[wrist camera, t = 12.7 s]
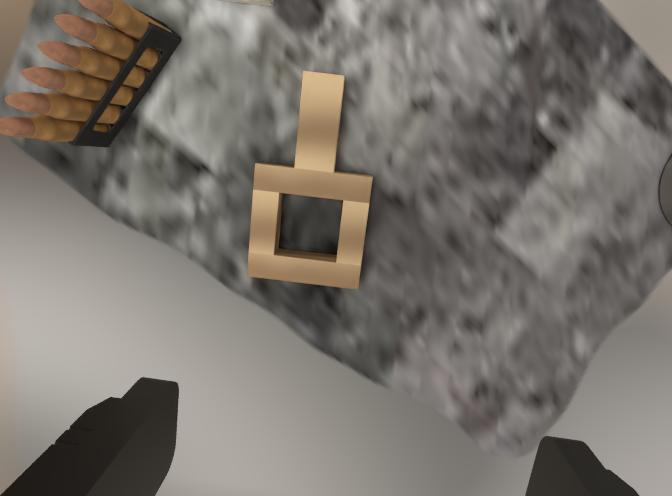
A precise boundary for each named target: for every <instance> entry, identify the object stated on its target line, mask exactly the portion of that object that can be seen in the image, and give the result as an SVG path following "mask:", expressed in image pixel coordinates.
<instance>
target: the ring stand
mask: <svg viewBox="0 0 672 496" xmlns="http://www.w3.org/2000/svg"><path fill="white" fill-rule="evenodd" d="M222 1H230V2H239V3H247V4H255V5H264V6H272V7H273V5H274V0H222Z"/></svg>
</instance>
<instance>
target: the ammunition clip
mask: <svg viewBox="0 0 672 496" xmlns="http://www.w3.org/2000/svg"><path fill="white" fill-rule="evenodd" d="M78 1H79V2H80V3H81V4H82V5H83V6H84V7H86V8H87V9H88V10H90V11H91V12H93V13H95V14H97V15H98V16H99V17H101V18H103V19H104V20H105V21H106V22H107V23H108V24H109V25H111V26H113V27H114V28H115V29H114V28H112V27H110V26H108V25H105V24H101V23H95V22H92V21H90V20H86V19H84V18H81V17H78V16H74V15H68V14H60V15H57V16H55V21H56V23H57V24H58V25H59V26H60V27H61V28H62V29H63V30H64V31H66V32H67V33H69V34H70V35H72V36H74V37H75V38H77V39H80V40H82V41H84V42H85V43H87V44H90V45H91V46H92V47H93V48H95V49H97V50H95V49H92V48H89V47H78V46H75V45H70V44H67V43H62V42H56V41H45V42H41V43H39V44H38V48H39V49H40V51H41V52H42V53H43V54H45V55H46V56H48V57H49V58H51V59H53V60H54V61H57V62H59V63H61V64H64V65H67V66H69V67H72V68H75V69H77V70H78V71H74V70H58V69H52V68H46V67H31V68H26V69H24V70H22V71H21V74H22V75H23V76H24V77H25V78H26V79H27V80H29V81H31V82H32V83H34V84H36V85H38V86H41V87H44V88H48V89H53V90H55V91H59V92H62V93H64V94H60V93H50V94H44V93H31V92H22V93H16V94H11V95H9V96H7V97H6V98H5V101H6V102H7V103H8V104H9V105H11V106H13V107H15V108H17V109H20V110H22V111H26V112H30V113H37V114H41V115H39V116H34V117H6V118H1V119H0V133H2V134H5V135H10V136H16V137H26V138H35V139H38V140H42V141H73V142H69V143H70V144H71V145H75V146H96V147H109V145H110V144H111V142H112V141H113V140H114V138H115V137H116V135H117V134H118V132H119V131H120V129H121V128H122V126H123V125H124V124H125V122H126V121H127V119H128V118H129V116H130V115H131V113H132V112H133V110H134V109H135V108H136V106H137V105H138V103H139V102H140V100H141V99H142V97H143V96H144V94H145V93H146V91H147V90H148V89H149V87H150V86H151V84H152V83H153V81H154V80H155V78H156V77H157V75H158V74H159V73H160V71H161V70H162V68H163V67H164V65H165V64H166V62H167V61H168V59H169V58H170V57H171V55H172V54H173V52H174V51H175V49H176V48H177V46H178V45H179V43H180V42H181V37H180V36H179V35H177V34H176V33H175V32H174V31H173V30H171V29H170V28H169V27H168V26H167V25H165V24H164V23H163V22H161V21H159V20H157V19H155V18H153V17H151V16H149V15H147V14H145V13H143V12H141V11H139V10H137V9H135V8H133V7H131V6H129V5H128V4H126V3H124V2H123V1H121V0H78ZM125 33H126V34H125ZM127 34H128V35H127ZM129 35H130V36H129ZM131 36H132V37H131ZM133 37H134V38H133ZM135 38H136V39H135ZM137 39H138V40H137ZM139 40H140V41H139ZM100 51H101V52H100ZM79 71H80V72H79ZM45 115H47V116H45Z"/></svg>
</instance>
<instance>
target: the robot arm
mask: <svg viewBox="0 0 672 496" xmlns="http://www.w3.org/2000/svg"><path fill="white" fill-rule="evenodd" d="M659 190H660V203H661V206H662V210H663V213H664V215H665V216H666V218H667V220H668V222H669V223H670V224H671V225H672V157H671V158H670V160H669V161H668V163H667V165H666V167H665V170H664V172H663V175H662V178H661V183H660V189H659ZM178 397H179V387H178V384H177V383H176V382H173V381H166V380H159V379H152V378H145V377H142V378H140V379H139V380H138V381H137V382H136V383H135V384H134V385H133V386H132V388H131V389H130V390H129V391H128V392H127V393H126V394H125V395H124V396H123V397H122V398H113V397H110V398H108V399H106V400H104V401H103V402H101V403H99V404H97V405H95V406H93V407H91V408H89V409H87V410H86V411H85V412H84V413H83V414H82V415H81V416H80V417H79V418H78V419H77V420H76V421H75V422H74V423H73V424H72V425H71V426H70V429H69V430H66V431H65V432H64V433H63V434H62V435H61V436H60V437H59V438H58V439H57V440H56V442H55V444H54V445H53V444H52V445H51V446H50V447H49V448H48V449H47V450H46V451H45V452H44V453H43V454H42V455H41V456H40V457H39V458H38V459H37V460H36V461H35V462H34V463H33V464H32V465H31V466H30V467H29V468H28V469H26V470H25V472H23V473H22V475H20V476H19V477H18V478H17V479H16V480H15V482H13V483H12V484H11V485H10V486H9V487H8V488H7V489H6V490H5V491H4V492H3V493H2V494H1V495H0V496H155V495H156V493H157V491H158V489H159V488H160V486H161V484H162V482H163V480H164V479H165V477H166V475H167V473H168V471H169V468H170V465H171V463H172V460H173V456H174V451H175V445H176V431H177V414H178ZM526 496H639V495H638V493H637V492H636V491H635V490H634V489H633V488H632V487H630V486H629V485H628V484H627V483H625V482H624V481H623V480H622V479H621V478H619V477H618V476H617V475H615V474H614V473H613V472H612V471H610V470H607V469H605V468H604V466H603V465H602V464H601V462H600V461H599V460H598V459H597V457H596V456H595V455H594V453H593V452H592V451H591V450H590V448H589V447H588V446H587V445H586V444H585V443H584V442H582V441H578V440H571V439H564V438H557V437H550V436H545V437H544V438H542V440H541V441H540V444H539V447H538V450H537V454H536V458H535V461H534V465H533V469H532V473H531V477H530V480H529V484H528V487H527V491H526Z"/></svg>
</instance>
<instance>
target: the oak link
mask: <svg viewBox="0 0 672 496" xmlns="http://www.w3.org/2000/svg"><path fill="white" fill-rule="evenodd" d="M344 84H345V76H343V75H335V74H326V73H318V72H309V71H303V81H302V91H301V102H300V113H299V124H298V134H297V145H296V156H295V166H290V165H282V164H274V163H265V162H260V163H255V174H254V187H253V201H252V215H251V228H250V242H249V256H248V270H247V276H250V277H258V278H267V279H275V280H284V281H292V282H300V283H309V284H317V285H325V286H334V287H342V288H350V289H358V285H359V277H360V270H361V262H362V255H363V247H364V240H365V232H366V225H367V217H368V209H369V202H370V194H371V187H372V179H373V177H372V175H366V174H358V173H350V172H341V171H335V163H336V155H337V146H338V137H339V128H340V119H341V110H342V101H343V93H344ZM283 193H286V194H295V195H303V196H311V197H320V198H328V199H337V200H343V209H342V217H341V226H340V234H339V242H338V251H337V255H332V254H324V253H316V252H307V251H299V250H290V249H282V248H279V237H280V226H281V215H282V203H283Z"/></svg>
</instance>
